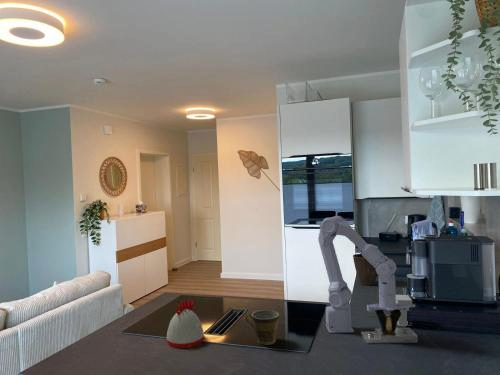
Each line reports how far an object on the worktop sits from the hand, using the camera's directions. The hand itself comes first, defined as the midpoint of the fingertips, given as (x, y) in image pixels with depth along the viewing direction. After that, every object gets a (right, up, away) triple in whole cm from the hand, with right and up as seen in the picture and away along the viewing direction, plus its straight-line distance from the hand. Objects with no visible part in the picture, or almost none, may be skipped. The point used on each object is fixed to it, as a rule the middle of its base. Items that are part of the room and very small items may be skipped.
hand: (388, 330), depth 139 cm
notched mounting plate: (0, -3, 0) cm, 3 cm away
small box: (+12, -3, +15) cm, 19 cm away
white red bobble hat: (-75, -6, +5) cm, 75 cm away
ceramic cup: (-46, -5, +2) cm, 46 cm away
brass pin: (0, -2, 0) cm, 2 cm away
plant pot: (+16, -3, +76) cm, 77 cm away
